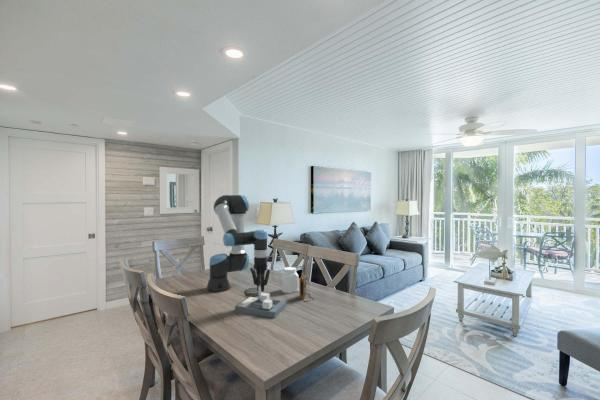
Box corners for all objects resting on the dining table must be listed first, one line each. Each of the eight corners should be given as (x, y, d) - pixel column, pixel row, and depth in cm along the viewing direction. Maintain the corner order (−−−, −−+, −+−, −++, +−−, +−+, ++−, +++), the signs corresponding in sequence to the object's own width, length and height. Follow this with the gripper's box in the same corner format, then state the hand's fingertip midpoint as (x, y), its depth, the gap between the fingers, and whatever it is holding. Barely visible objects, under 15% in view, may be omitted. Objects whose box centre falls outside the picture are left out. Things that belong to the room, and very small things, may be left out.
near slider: (262, 308, 150) (262, 301, 150) (265, 305, 153) (265, 299, 153) (269, 309, 148) (269, 302, 148) (272, 306, 152) (272, 300, 152)
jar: (293, 287, 196) (293, 265, 196) (300, 291, 188) (301, 268, 188) (279, 289, 190) (279, 268, 190) (286, 294, 182) (286, 271, 182)
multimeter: (314, 302, 167) (314, 269, 167) (298, 301, 169) (298, 268, 169) (318, 294, 181) (318, 263, 181) (303, 293, 183) (303, 263, 183)
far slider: (260, 301, 160) (260, 295, 160) (263, 298, 164) (263, 292, 164) (266, 302, 159) (266, 295, 159) (269, 299, 163) (269, 293, 163)
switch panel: (235, 311, 153) (235, 305, 153) (249, 301, 169) (249, 296, 169) (274, 317, 146) (274, 311, 146) (286, 306, 161) (286, 300, 161)
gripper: (247, 257, 161) (247, 297, 161) (267, 258, 156) (267, 300, 156) (253, 254, 168) (253, 293, 168) (273, 256, 163) (273, 296, 163)
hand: (260, 297), depth 162 cm, fingers closed
